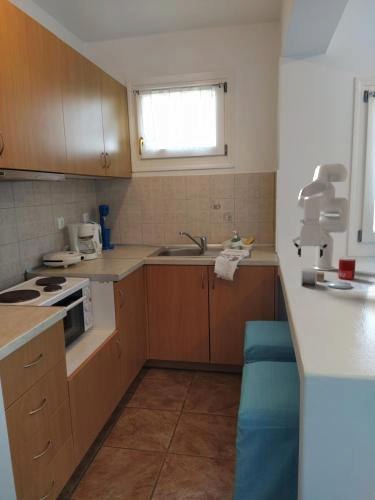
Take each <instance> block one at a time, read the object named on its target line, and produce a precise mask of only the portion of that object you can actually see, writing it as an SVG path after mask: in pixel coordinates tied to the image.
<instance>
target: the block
mask: <svg viewBox="0 0 375 500" xmlns="http://www.w3.org/2000/svg"><path fill="white" fill-rule="evenodd" d="M324 281H325V271H322V272H321V271H320V272H318V271H317V279H316V282H324Z"/></svg>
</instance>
